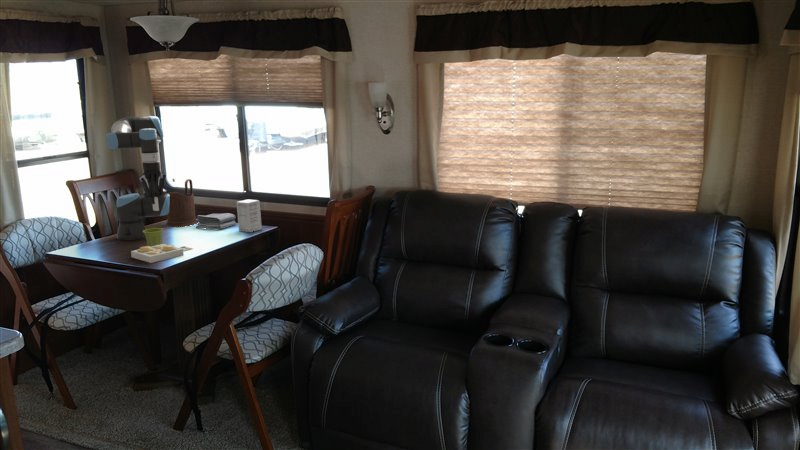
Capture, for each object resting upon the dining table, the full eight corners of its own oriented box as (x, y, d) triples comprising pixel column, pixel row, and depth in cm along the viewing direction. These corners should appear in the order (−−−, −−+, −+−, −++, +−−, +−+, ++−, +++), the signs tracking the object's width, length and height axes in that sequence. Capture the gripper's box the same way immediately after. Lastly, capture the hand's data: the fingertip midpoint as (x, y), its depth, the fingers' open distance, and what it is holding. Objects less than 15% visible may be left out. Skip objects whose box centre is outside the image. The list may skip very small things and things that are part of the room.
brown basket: (159, 227, 352) (154, 184, 346) (180, 218, 375) (176, 178, 369) (188, 227, 349) (184, 185, 343) (208, 219, 372) (204, 178, 366)
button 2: (146, 258, 284) (146, 252, 283) (156, 256, 288) (156, 250, 287) (152, 260, 281) (151, 254, 280) (162, 258, 285) (161, 252, 284)
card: (172, 249, 300) (172, 248, 300) (184, 246, 305) (184, 245, 305) (180, 252, 296) (180, 250, 296) (192, 249, 301) (192, 247, 301)
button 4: (161, 252, 289) (160, 246, 289) (170, 250, 293) (169, 244, 292) (166, 254, 286) (166, 248, 286) (176, 252, 290) (175, 246, 289)
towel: (221, 230, 341) (220, 217, 339) (194, 228, 347) (193, 215, 346) (237, 225, 355) (236, 212, 353) (211, 223, 361) (210, 210, 359)
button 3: (152, 253, 294) (152, 247, 293) (162, 250, 298) (161, 244, 297) (158, 254, 291) (157, 248, 290) (168, 252, 295) (167, 246, 294)
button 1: (138, 253, 288) (137, 247, 287) (147, 251, 292) (147, 245, 291) (143, 255, 285) (143, 249, 284) (153, 253, 289) (152, 247, 288)
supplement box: (262, 229, 342) (260, 200, 338) (250, 232, 334) (248, 203, 330) (250, 227, 347) (248, 198, 343) (238, 230, 339) (236, 201, 335)
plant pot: (152, 249, 301) (150, 233, 299) (140, 247, 306) (138, 231, 304) (168, 245, 308) (166, 229, 307) (156, 243, 313) (154, 227, 311)
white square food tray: (131, 257, 288) (130, 251, 287) (164, 249, 301) (163, 243, 300) (150, 263, 278) (150, 256, 277) (183, 254, 291) (182, 248, 290)
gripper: (142, 163, 277) (147, 213, 283) (167, 160, 287) (172, 209, 293) (133, 162, 282) (139, 211, 287) (159, 159, 292) (164, 207, 297)
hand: (156, 210), depth 290 cm, fingers closed
